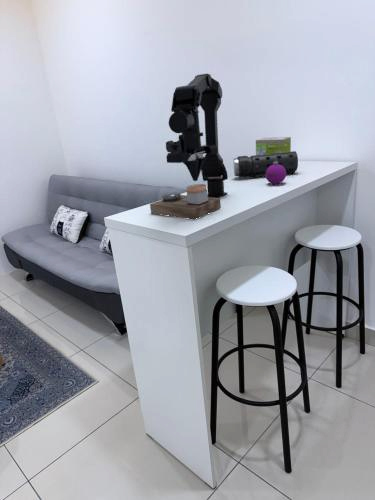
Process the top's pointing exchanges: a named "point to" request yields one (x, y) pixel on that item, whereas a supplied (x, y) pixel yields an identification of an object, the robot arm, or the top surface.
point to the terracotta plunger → (197, 194)
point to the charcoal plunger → (171, 197)
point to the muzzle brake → (264, 164)
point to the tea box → (273, 145)
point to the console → (185, 208)
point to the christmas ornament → (275, 173)
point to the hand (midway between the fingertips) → (195, 180)
